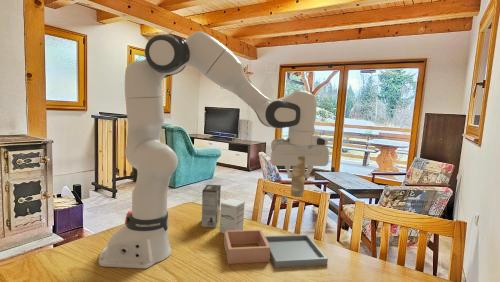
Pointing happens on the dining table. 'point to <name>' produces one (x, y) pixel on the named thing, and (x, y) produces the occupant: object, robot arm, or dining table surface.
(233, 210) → the supplement box
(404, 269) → the dining table surface
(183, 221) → the dining table surface
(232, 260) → the open square box
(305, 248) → the tray
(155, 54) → the robot arm
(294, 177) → the dowel
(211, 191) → the coffee box
